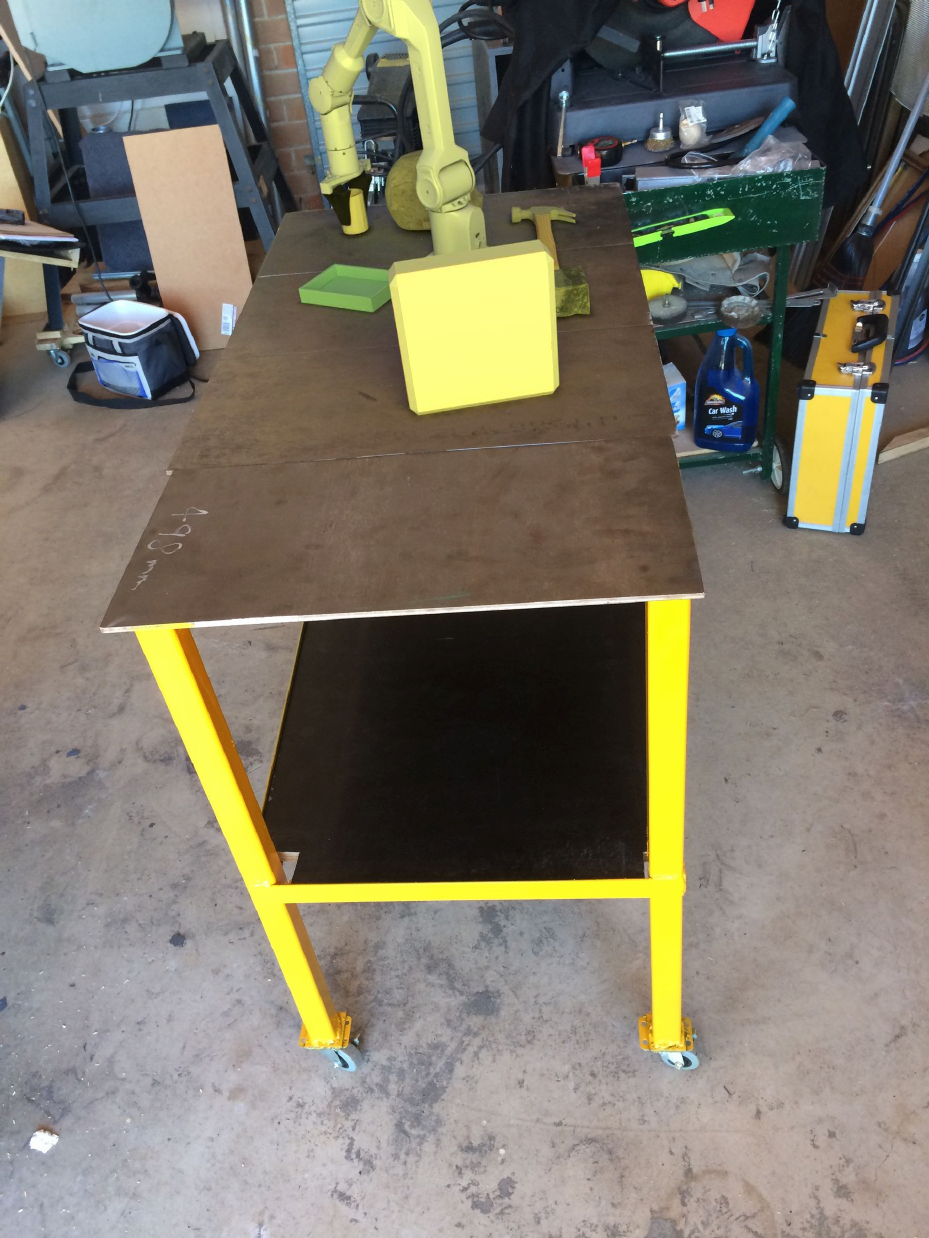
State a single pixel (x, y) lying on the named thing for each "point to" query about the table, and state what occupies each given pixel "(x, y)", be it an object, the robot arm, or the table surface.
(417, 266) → the yellow beveled square tile
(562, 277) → the stone block
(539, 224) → the hammer
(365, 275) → the tray
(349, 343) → the table surface
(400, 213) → the stone
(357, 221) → the cup
